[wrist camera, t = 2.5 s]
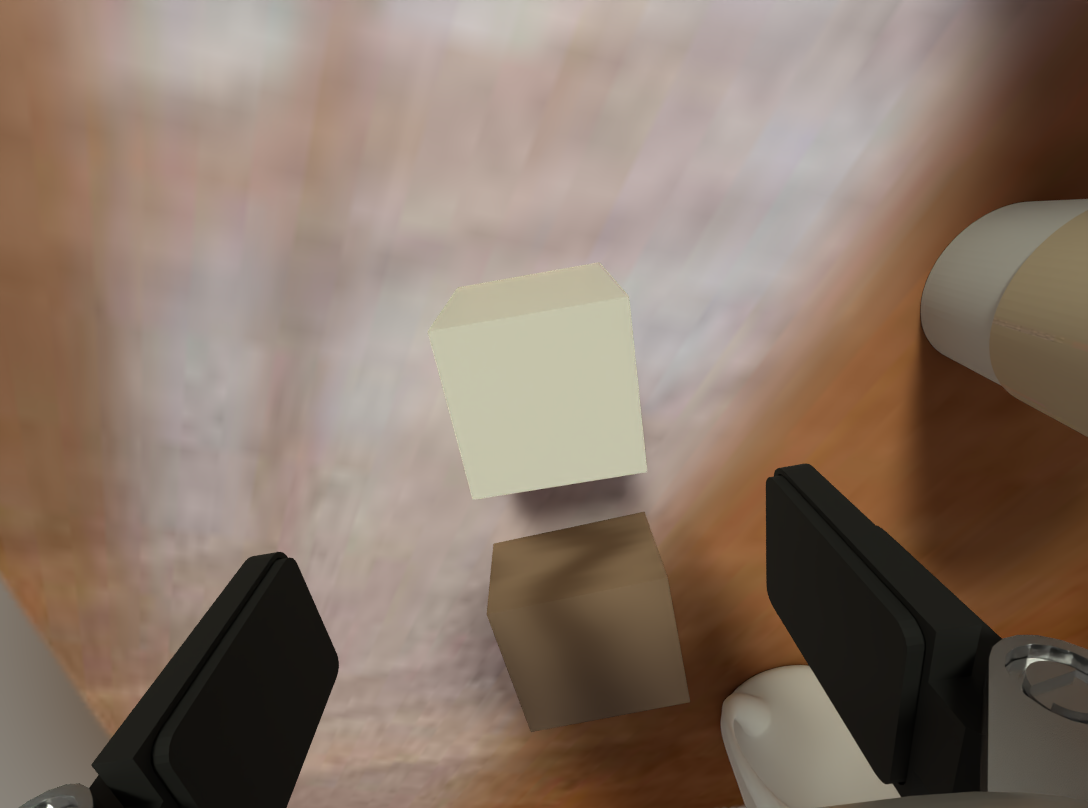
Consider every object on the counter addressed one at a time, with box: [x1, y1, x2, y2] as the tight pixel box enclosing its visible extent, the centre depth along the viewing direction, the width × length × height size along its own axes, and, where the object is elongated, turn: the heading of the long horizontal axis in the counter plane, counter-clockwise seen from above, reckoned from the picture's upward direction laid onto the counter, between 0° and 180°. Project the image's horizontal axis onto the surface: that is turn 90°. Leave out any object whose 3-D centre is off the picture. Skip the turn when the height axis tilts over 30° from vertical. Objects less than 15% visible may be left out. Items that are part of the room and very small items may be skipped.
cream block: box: [428, 262, 647, 500], centre depth 19 cm, size 6×6×7 cm
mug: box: [720, 665, 901, 808], centre depth 27 cm, size 9×12×11 cm
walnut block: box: [487, 512, 690, 732], centre depth 26 cm, size 8×8×5 cm
